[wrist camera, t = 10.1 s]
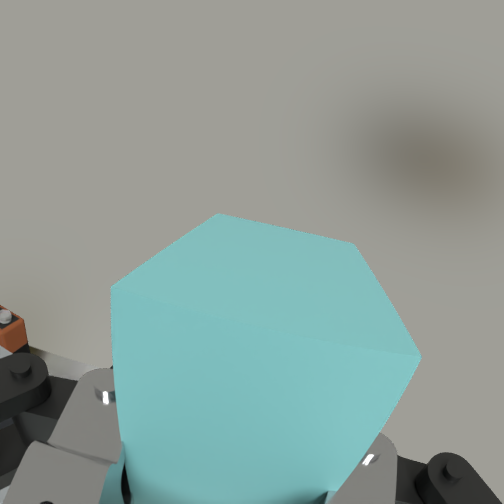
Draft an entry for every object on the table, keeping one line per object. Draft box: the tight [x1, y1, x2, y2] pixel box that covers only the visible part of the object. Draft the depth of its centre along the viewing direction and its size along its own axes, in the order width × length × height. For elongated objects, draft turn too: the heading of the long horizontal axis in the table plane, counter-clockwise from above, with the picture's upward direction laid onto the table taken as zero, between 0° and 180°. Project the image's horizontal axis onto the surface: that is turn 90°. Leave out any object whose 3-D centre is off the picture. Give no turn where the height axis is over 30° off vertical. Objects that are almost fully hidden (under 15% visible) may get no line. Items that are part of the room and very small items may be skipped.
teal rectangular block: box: [111, 214, 422, 504], centre depth 7 cm, size 4×5×10 cm
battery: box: [0, 305, 30, 354], centre depth 30 cm, size 4×7×10 cm, turn 79°
